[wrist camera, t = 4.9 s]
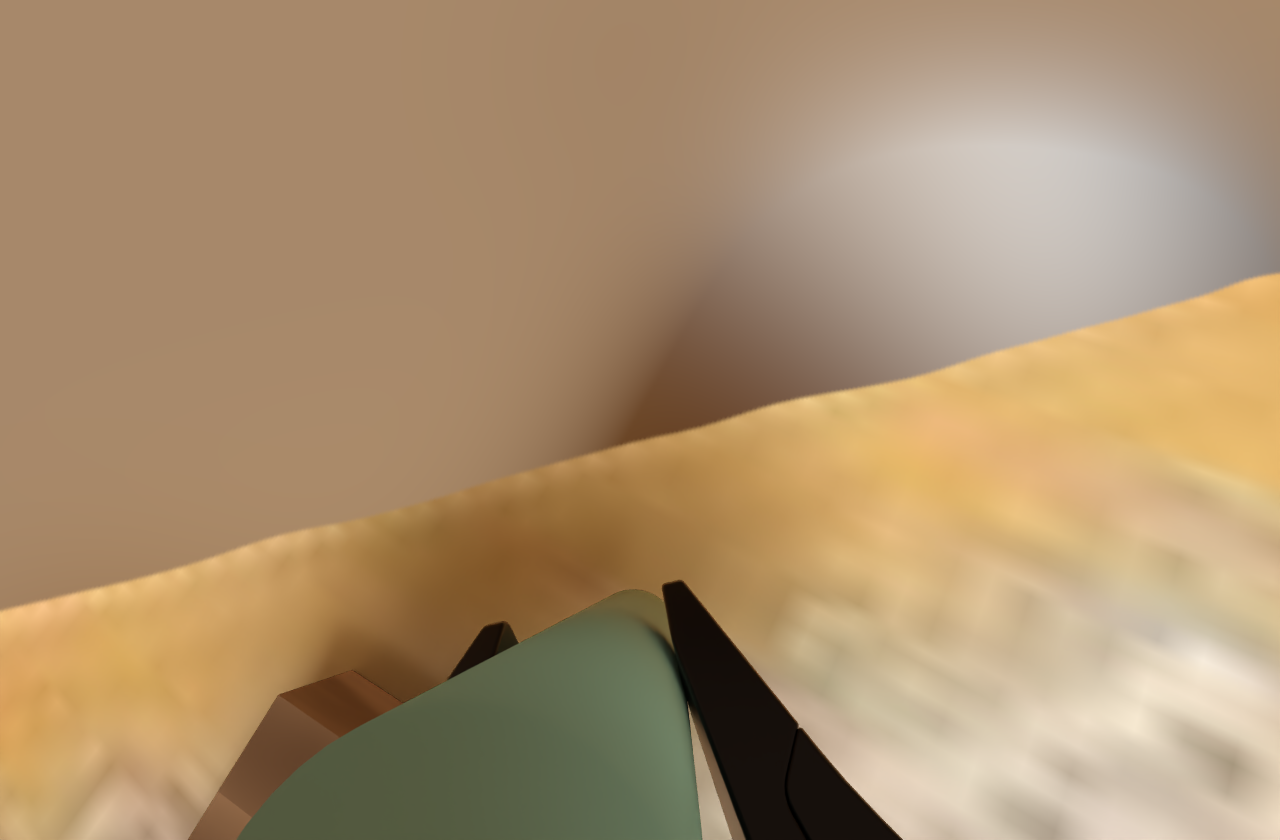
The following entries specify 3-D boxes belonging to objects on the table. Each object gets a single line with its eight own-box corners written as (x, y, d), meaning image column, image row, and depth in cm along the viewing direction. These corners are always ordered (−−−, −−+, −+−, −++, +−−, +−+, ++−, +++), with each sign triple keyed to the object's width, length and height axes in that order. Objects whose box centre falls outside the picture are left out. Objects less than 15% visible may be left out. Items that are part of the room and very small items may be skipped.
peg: (655, 712, 14) (536, 1734, 2) (569, 662, 15) (28, 1184, 2) (696, 617, 15) (811, 883, 2) (613, 573, 15) (373, 610, 3)
